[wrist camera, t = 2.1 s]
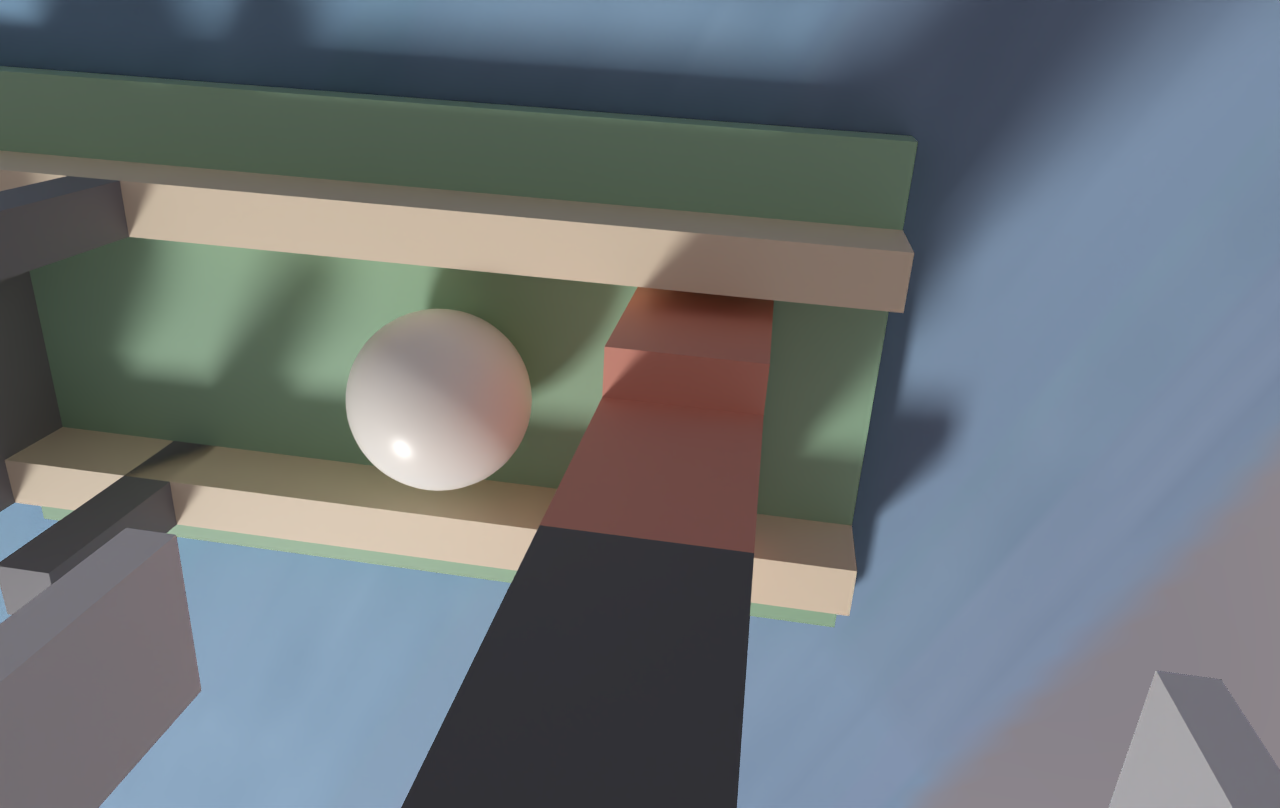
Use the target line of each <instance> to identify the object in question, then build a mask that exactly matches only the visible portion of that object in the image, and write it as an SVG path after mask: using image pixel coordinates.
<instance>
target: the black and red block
mask: <svg viewBox="0 0 1280 808" xmlns="http://www.w3.org/2000/svg"><path fill="white" fill-rule="evenodd" d="M773 305H774V300H766V299H756V298H745V297H735V296H725V295H715V294H705V293H695V292H684V291H674V290H664V289H654V288H644V287H637V289H636V291H635V293H634V294H633V296H632V298H631V300H630V302H629V303H628V305H627V307H626V309H625V311H624V312H623V314H622V316H621V318H620V320H619V321H618V323H617V325H616V327H615V329H614V330H613V332H612V334H611V336H610V338H609V339H608V341H607V343H606V345H605V347H604V368H603V391H602V399H601V401H600V403H599V405H598V407H597V409H596V411H595V413H594V415H593V417H592V419H591V421H590V423H589V425H588V427H587V429H586V431H585V433H584V435H583V437H582V439H581V441H580V444H579V446H578V448H577V450H576V452H575V454H574V456H573V458H572V460H571V462H570V464H569V466H568V468H567V470H566V472H565V474H564V476H563V478H562V480H561V482H560V484H559V486H558V489H557V491H556V493H555V495H554V497H553V499H552V501H551V503H550V505H549V507H548V509H547V511H546V513H545V515H544V517H543V519H542V521H541V523H540V525H539V527H538V529H537V531H536V533H535V536H534V538H533V540H532V542H531V544H530V546H529V548H528V550H527V552H526V554H525V556H524V558H523V560H522V562H521V564H520V566H519V568H518V570H517V572H516V574H515V576H514V578H513V580H512V583H511V585H510V587H509V589H508V591H507V593H506V595H505V597H504V599H503V601H502V603H501V605H500V607H499V609H498V611H497V613H496V615H495V617H494V619H493V621H492V623H491V625H490V627H489V630H488V632H487V634H486V636H485V638H484V640H483V642H482V644H481V646H480V648H479V650H478V652H477V654H476V656H475V658H474V660H473V662H472V664H471V666H470V668H469V670H468V672H467V674H466V677H465V679H464V681H463V683H462V685H461V687H460V689H459V691H458V693H457V695H456V697H455V699H454V701H453V703H452V705H451V707H450V709H449V711H448V713H447V715H446V717H445V719H444V721H443V724H442V726H441V728H440V730H439V732H438V734H437V736H436V738H435V740H434V742H433V744H432V746H431V748H430V750H429V752H428V754H427V756H426V758H425V760H424V762H423V764H422V766H421V769H420V771H419V773H418V775H417V777H416V779H415V781H414V783H413V785H412V787H411V789H410V791H409V793H408V795H407V797H406V799H405V801H404V803H403V805H402V807H401V808H737V796H738V781H739V767H740V752H741V737H742V723H743V708H744V694H745V679H746V665H747V650H748V636H749V621H750V607H751V592H752V578H753V563H754V548H755V534H756V519H757V505H758V490H759V476H760V461H761V447H762V432H763V418H764V408H765V400H766V392H767V384H768V376H769V367H770V354H771V338H772V321H773Z"/></svg>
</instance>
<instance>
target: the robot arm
mask: <svg viewBox="0 0 1280 808" xmlns="http://www.w3.org/2000/svg"><path fill="white" fill-rule="evenodd" d="M200 691H201V685H200V679H199V673H198V666H197V660H196V654H195V648H194V642H193V635H192V629H191V623H190V617H189V611H188V604H187V598H186V592H185V586H184V580H183V574H182V567H181V561H180V555H179V549H178V543H177V536H176V535H174V534H167V533H160V532H153V531H146V530H138V529H131V528H125V529H124V530H123V531H121V532H120V533H119V534H117V535H116V536H115V537H113V538H112V539H111V540H109V541H108V542H107V543H106V544H104V545H103V546H102V547H100V548H99V549H98V550H96V551H95V552H94V553H92V554H91V555H90V556H89V557H87V558H86V559H85V560H83V561H82V562H81V563H79V564H78V565H77V566H75V567H74V568H73V569H72V570H70V571H69V572H68V573H66V574H65V575H64V576H62V577H61V578H60V579H58V580H57V581H56V582H55V583H53V584H52V585H51V586H49V587H48V588H47V589H45V590H44V591H43V592H41V593H40V594H39V595H38V596H36V597H35V598H34V599H32V600H31V601H30V602H28V603H27V604H26V605H24V606H23V607H22V608H21V609H19V610H18V611H17V612H15V613H14V614H13V615H11V616H10V617H9V618H7V619H6V620H5V621H4V622H2V623H1V624H0V808H99V806H100V805H101V804H102V803H103V802H104V801H105V800H106V798H107V797H108V796H109V795H110V794H111V793H112V792H113V790H114V789H115V788H116V787H117V786H118V785H119V784H120V782H121V781H122V780H123V779H124V778H125V777H126V776H127V775H128V773H129V772H130V771H131V770H132V769H133V768H134V767H135V765H136V764H137V763H138V762H139V761H140V760H141V759H142V757H143V756H144V755H145V754H146V753H147V752H148V751H149V750H150V748H151V747H152V746H153V745H154V744H155V743H156V742H157V740H158V739H159V738H160V737H161V736H162V735H163V734H164V732H165V731H166V730H167V729H168V728H169V727H170V726H171V724H172V723H173V722H174V721H175V720H176V719H177V718H178V717H179V715H180V714H181V713H182V712H183V711H184V710H185V709H186V707H187V706H188V705H189V704H190V703H191V702H192V701H193V699H194V698H195V697H196V696H197V695H198V694H199V693H200ZM1109 808H1280V769H1279V768H1278V766H1277V765H1276V763H1275V762H1274V760H1273V758H1272V757H1271V755H1270V754H1269V752H1268V751H1267V749H1266V748H1265V746H1264V745H1263V743H1262V741H1261V740H1260V738H1259V737H1258V735H1257V734H1256V732H1255V731H1254V729H1253V728H1252V726H1251V725H1250V723H1249V721H1248V720H1247V718H1246V717H1245V715H1244V714H1243V712H1242V711H1241V709H1240V708H1239V706H1238V704H1237V703H1236V702H1235V700H1234V698H1233V697H1232V695H1231V694H1230V692H1229V691H1228V689H1227V688H1226V686H1225V685H1224V683H1223V682H1222V680H1221V679H1215V678H1207V677H1199V676H1193V675H1185V674H1178V673H1171V672H1164V671H1156V672H1155V675H1154V678H1153V680H1152V683H1151V686H1150V689H1149V692H1148V695H1147V698H1146V701H1145V704H1144V707H1143V710H1142V712H1141V715H1140V718H1139V721H1138V724H1137V727H1136V730H1135V733H1134V736H1133V738H1132V741H1131V744H1130V747H1129V750H1128V753H1127V756H1126V759H1125V762H1124V764H1123V767H1122V770H1121V773H1120V776H1119V779H1118V782H1117V785H1116V788H1115V790H1114V793H1113V796H1112V799H1111V802H1110V805H1109Z"/></svg>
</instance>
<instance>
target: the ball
mask: <svg viewBox="0 0 1280 808" xmlns="http://www.w3.org/2000/svg"><path fill="white" fill-rule="evenodd" d="M531 406H532V392H531V385H530V380H529V375H528V372H527V369H526V366H525V364H524V362H523V360H522V358H521V356H520V354H519V353H518V351H517V350H516V348H515V347H514V346H513V344H512V343H511V342H510V341H509V339H508V338H507V337H506V336H505V335H504V334H502V333H501V332H500V331H499V330H498V329H497V328H495V327H494V326H493V325H491V324H490V323H488V322H486V321H485V320H483V319H481V318H479V317H476V316H474V315H472V314H469V313H465V312H462V311H457V310H451V309H425V310H420V311H416V312H412V313H408V314H406V315H403V316H401V317H398V318H396V319H395V320H393V321H391V322H390V323H388V324H386V325H384V326H383V327H382V328H381V329H379V330H378V331H377V332H376V333H375V334H374V335H373V336H372V337H371V338H370V339H369V340H368V341H367V342H366V343H365V344H364V346H363V347H362V349H361V350H360V352H359V353H358V355H357V357H356V359H355V361H354V363H353V365H352V367H351V370H350V374H349V377H348V381H347V387H346V412H347V419H348V422H349V426H350V429H351V432H352V434H353V436H354V438H355V440H356V442H357V444H358V446H359V447H360V449H361V450H362V452H363V453H364V455H365V456H366V457H367V458H368V459H369V461H370V462H371V463H372V464H373V465H374V466H376V467H377V468H378V469H379V470H380V471H381V472H383V473H384V474H386V475H387V476H389V477H390V478H392V479H394V480H396V481H398V482H400V483H403V484H405V485H408V486H411V487H415V488H418V489H424V490H433V491H442V490H454V489H459V488H463V487H466V486H469V485H472V484H475V483H477V482H479V481H481V480H483V479H486V478H487V477H489V476H490V475H492V474H493V473H494V472H496V471H497V470H499V469H500V468H501V467H502V466H503V465H504V464H505V463H506V462H507V461H508V460H509V459H510V457H511V456H512V455H513V454H514V452H515V451H516V450H517V448H518V447H519V445H520V443H521V441H522V439H523V437H524V435H525V432H526V430H527V427H528V424H529V420H530V415H531Z"/></svg>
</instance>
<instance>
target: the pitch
mask: <svg viewBox="0 0 1280 808" xmlns="http://www.w3.org/2000/svg"><path fill="white" fill-rule="evenodd" d="M917 145H918V142H917V141H916V140H915V138H914V137H913V136H906V135H893V134H880V133H867V132H854V131H841V130H828V129H815V128H802V127H789V126H776V125H763V124H750V123H737V122H724V121H711V120H698V119H685V118H672V117H659V116H646V115H633V114H620V113H607V112H594V111H581V110H568V109H554V108H541V107H528V106H515V105H502V104H489V103H476V102H463V101H450V100H437V99H424V98H411V97H398V96H385V95H372V94H359V93H346V92H333V91H320V90H307V89H294V88H281V87H268V86H255V85H242V84H229V83H216V82H203V81H190V80H177V79H164V78H151V77H138V76H125V75H112V74H99V73H85V72H72V71H59V70H46V69H33V68H20V67H7V66H0V512H1V511H2V510H4V509H5V508H7V507H9V506H10V505H12V504H13V503H23V504H30V505H37V506H41V507H42V511H43V515H44V519H52V520H59V521H58V522H57V523H55V524H54V525H53V526H51V527H50V528H48V529H47V530H45V531H44V532H43V533H41V534H40V535H38V536H37V537H35V538H34V539H33V540H31V541H30V542H28V543H27V544H25V545H24V546H22V547H21V548H20V549H18V550H17V551H15V552H14V553H12V554H11V555H10V556H8V557H7V558H5V559H4V560H2V561H1V562H0V587H1V590H2V594H3V598H4V602H5V606H6V609H7V613H8V614H10V615H13V614H14V613H15V612H17V611H18V610H19V609H21V608H22V607H23V606H24V605H26V604H27V603H28V602H30V601H31V600H32V599H34V598H35V597H36V596H38V595H39V594H40V593H41V592H43V591H44V590H45V589H47V588H48V587H49V586H51V585H52V584H53V583H55V582H56V581H57V580H58V579H60V578H61V577H62V576H64V575H65V574H66V573H68V572H69V571H70V570H72V569H73V568H74V567H75V566H77V565H78V564H79V563H81V562H82V561H83V560H85V559H86V558H87V557H89V556H90V555H91V554H92V553H94V552H95V551H96V550H98V549H99V548H100V547H102V546H103V545H104V544H106V543H107V542H108V541H109V540H111V539H112V538H113V537H115V536H116V535H117V534H119V533H120V532H121V531H123V530H124V529H125V528H131V529H138V530H146V531H153V532H160V533H167V534H174V535H176V536H177V537H182V538H190V539H197V540H204V541H211V542H219V543H226V544H233V545H240V546H248V547H255V548H262V549H270V550H277V551H284V552H291V553H299V554H306V555H313V556H320V557H328V558H335V559H342V560H349V561H357V562H364V563H371V564H378V565H386V566H393V567H400V568H407V569H415V570H422V571H429V572H436V573H444V574H451V575H458V576H466V577H473V578H480V579H487V580H495V581H502V582H509V583H512V580H513V578H514V576H515V574H516V572H517V570H518V568H519V566H520V564H521V562H522V560H523V558H524V556H525V554H526V552H527V550H528V548H529V546H530V544H531V542H532V540H533V538H534V536H535V533H536V531H537V529H538V527H539V525H540V523H541V521H542V519H543V517H544V515H545V513H546V511H547V509H548V507H549V505H550V503H551V501H552V499H553V497H554V495H555V493H556V491H557V489H558V486H559V484H560V482H561V480H562V478H563V476H564V474H565V472H566V470H567V468H568V466H569V464H570V462H571V460H572V458H573V456H574V454H575V452H576V450H577V448H578V446H579V444H580V441H581V439H582V437H583V435H584V433H585V431H586V429H587V427H588V425H589V423H590V421H591V419H592V417H593V415H594V413H595V411H596V409H597V407H598V405H599V403H600V401H601V399H602V391H603V368H604V347H605V345H606V343H607V341H608V339H609V338H610V336H611V334H612V332H613V330H614V329H615V327H616V325H617V323H618V321H619V320H620V318H621V316H622V314H623V312H624V311H625V309H626V307H627V305H628V303H629V302H630V300H631V298H632V296H633V294H634V293H635V291H636V289H637V287H644V288H654V289H664V290H674V291H684V292H695V293H705V294H715V295H725V296H735V297H745V298H756V299H766V300H774V305H773V321H772V338H771V354H770V367H769V376H768V384H767V392H766V400H765V408H764V418H763V432H762V447H761V461H760V476H759V490H758V505H757V519H756V534H755V548H754V563H753V578H752V592H751V607H750V616H756V617H763V618H770V619H778V620H785V621H792V622H799V623H807V624H814V625H821V626H829V627H834V626H835V620H836V614H838V615H846V616H849V614H850V608H851V603H852V597H853V592H854V586H855V581H856V575H857V566H856V557H855V549H854V540H853V532H852V521H853V516H854V510H855V504H856V498H857V492H858V487H859V481H860V475H861V469H862V463H863V458H864V452H865V446H866V440H867V434H868V429H869V423H870V417H871V411H872V405H873V400H874V394H875V388H876V382H877V377H878V371H879V365H880V359H881V353H882V348H883V342H884V336H885V330H886V324H887V319H888V313H889V312H898V313H904V307H905V302H906V296H907V291H908V285H909V280H910V274H911V268H912V263H913V257H914V251H913V249H912V247H911V245H910V243H909V242H908V240H907V238H906V236H905V234H904V232H903V226H904V220H905V214H906V208H907V203H908V197H909V191H910V185H911V180H912V174H913V168H914V162H915V156H916V151H917ZM425 309H451V310H457V311H462V312H465V313H469V314H472V315H474V316H476V317H479V318H481V319H483V320H485V321H486V322H488V323H490V324H491V325H493V326H494V327H495V328H497V329H498V330H499V331H500V332H501V333H502V334H504V335H505V336H506V337H507V338H508V339H509V341H510V342H511V343H512V344H513V346H514V347H515V348H516V350H517V351H518V353H519V354H520V356H521V358H522V360H523V362H524V364H525V366H526V369H527V372H528V375H529V380H530V385H531V392H532V406H531V415H530V420H529V424H528V427H527V430H526V432H525V435H524V437H523V439H522V441H521V443H520V445H519V447H518V448H517V450H516V451H515V452H514V454H513V455H512V456H511V457H510V459H509V460H508V461H507V462H506V463H505V464H504V465H503V466H502V467H501V468H500V469H499V470H497V471H496V472H494V473H493V474H492V475H490V476H489V477H487V478H486V479H483V480H481V481H479V482H477V483H475V484H472V485H469V486H466V487H463V488H459V489H454V490H442V491H433V490H424V489H418V488H415V487H411V486H408V485H405V484H403V483H400V482H398V481H396V480H394V479H392V478H390V477H389V476H387V475H386V474H384V473H383V472H381V471H380V470H379V469H378V468H377V467H376V466H374V465H373V464H372V463H371V462H370V461H369V459H368V458H367V457H366V456H365V455H364V453H363V452H362V450H361V449H360V447H359V446H358V444H357V442H356V440H355V438H354V436H353V434H352V432H351V429H350V426H349V422H348V419H347V412H346V387H347V381H348V377H349V374H350V370H351V367H352V365H353V363H354V361H355V359H356V357H357V355H358V353H359V352H360V350H361V349H362V347H363V346H364V344H365V343H366V342H367V341H368V340H369V339H370V338H371V337H372V336H373V335H374V334H375V333H376V332H377V331H378V330H379V329H381V328H382V327H383V326H384V325H386V324H388V323H390V322H391V321H393V320H395V319H396V318H398V317H401V316H403V315H406V314H408V313H412V312H416V311H420V310H425Z"/></svg>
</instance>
